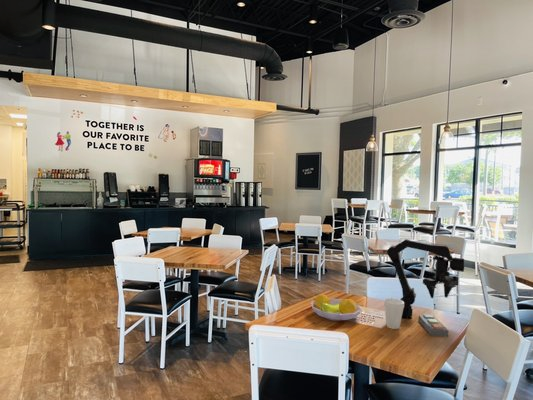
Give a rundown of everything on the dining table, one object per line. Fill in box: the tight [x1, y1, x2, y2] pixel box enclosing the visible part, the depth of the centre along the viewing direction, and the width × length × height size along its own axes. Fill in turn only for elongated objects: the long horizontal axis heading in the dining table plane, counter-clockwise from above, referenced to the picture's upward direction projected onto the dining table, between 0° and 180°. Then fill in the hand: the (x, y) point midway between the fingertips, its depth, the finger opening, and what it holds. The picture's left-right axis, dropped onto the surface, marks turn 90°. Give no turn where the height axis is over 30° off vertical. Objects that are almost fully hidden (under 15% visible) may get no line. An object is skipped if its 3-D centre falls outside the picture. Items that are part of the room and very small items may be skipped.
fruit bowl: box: [311, 294, 362, 322], centre depth 203 cm, size 28×27×11 cm
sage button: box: [428, 319, 438, 324], centre depth 193 cm, size 4×4×2 cm
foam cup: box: [383, 297, 404, 330], centre depth 193 cm, size 10×9×13 cm
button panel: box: [418, 314, 449, 337], centre depth 193 cm, size 8×20×3 cm, turn 174°
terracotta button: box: [432, 324, 443, 330], centre depth 186 cm, size 4×4×2 cm
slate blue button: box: [423, 313, 434, 319], centre depth 200 cm, size 4×4×2 cm
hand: (439, 297), depth 201 cm, fingers open, 9 cm apart
